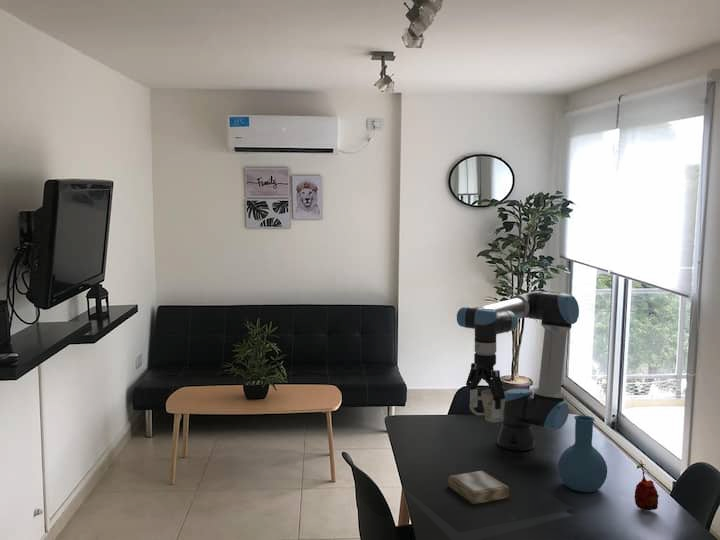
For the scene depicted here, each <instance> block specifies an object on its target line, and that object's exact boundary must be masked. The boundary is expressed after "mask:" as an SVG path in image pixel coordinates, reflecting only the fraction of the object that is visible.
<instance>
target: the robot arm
mask: <svg viewBox="0 0 720 540" xmlns="http://www.w3.org/2000/svg"><path fill="white" fill-rule="evenodd" d="M524 318H526V319H527V318H528V319H534V320H540V321H541V324H540V325H541V326H542V328H543V329H544V333H543V341H542V342H543V343H542V351H541V352H542V353H541V363H540V369H539V381H538V388H537V389H536V390H534V391H533V390H531V389H530V388H529V389H528V388H512V389H507V390H504V388H503V384H502V380H501V373H500V372H501V371H500V370H497V369H496V370H495V368H494V367H495V365H496V364H497V354H496V353H497V335H501V334H504V333H509V332H511V331H513V330H515V329H516V328H517V326H518V319H524ZM579 318H580V306H579V303H578V301H577V298H575V296H574V295H572V294H570V293H564V292H553V291H551V292H550V291H542V290H535V291H529V292H525V293H519V294H516V295H513V296H512V297H511V298H510V299H506V300H502V301H498V302H493V303H490V304H485V305H481V306H475V307H468V306H466V307H461V308H459V310H458V311H457V313H456V322H457V324H458V326H460V327H462V328H466V329H474V354H473V356H474V359H473V361H474V362H472V363H470V370H469V373H468V377H467V380H466V382H465V387H468V389H469V402H470V401H471V400H472V399H473V398H474V397H478V385H479V384H480V383H481V381H482V380H484V381H485V382H486V383H487V384H488V388H489V389H490V390H491V393H492V395H493V397H494V399H493V400H492V418H493V419H494V418H500V408H501V399H505V405H504V417H503V421H501V422H502V424H501V427H500V431H499V434H498V436H497V445H498V446H499V447H500V448H503V449H506V450H510V451H517V452H518V451H519V452H520V451H522V452H523V451H530V450H532V449H534V448H535V447H536V446H535V445H536V444H535V443H536V441H535V437H534V434H533V431H532V430H533V429H532V426H535V427H540V428H544V429H545V430H553V431H559V430H561V429H562V428H563V427H564V425H565V424H566V422H567V420H568V417H569V412H570V407H569V405H568V403H567V402H566V401H565V396H564V394H563V393H562V383H563V382H562V381H563V372H564V364H565V354H566V345H567V334H568V333H567V332H568V331H570V330H571V329H572V326H573V324H576V323H577V322H578V319H579ZM504 391H505V394H504ZM496 395H497V396H496ZM501 395H502V396H501ZM473 408H474V409H475V408H478V400H476V401H475V402H474V403H473Z"/></svg>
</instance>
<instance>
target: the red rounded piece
mask: <svg viewBox="0 0 720 540" xmlns="http://www.w3.org/2000/svg"><path fill="white" fill-rule="evenodd" d="M646 465H647V463H645V464H643V462H642V461H640V463H639V464H638V465H636V469H640V468H641V471H642V479H641V481H638V483H637V484H636V486H635V490H634V503H635V505H636V507H637V508H638V509H640V510H641V511H654V510H655V511H656V510H657V509H658V505H659V497H660V496H659V493H658V490H657V488H656V487H655V484H654V481H653V480H651V479H649V480H647V479H646V476H645V474H646V473H645V471H644V466H646Z"/></svg>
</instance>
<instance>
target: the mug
mask: <svg viewBox="0 0 720 540" xmlns="http://www.w3.org/2000/svg"><path fill="white" fill-rule="evenodd" d="M503 391H504V394H505V391H506V390H503ZM496 396H497V395H496ZM501 396H502V395H501ZM493 399H494V397H493V395H492V393H491V390H490V388H489V389H484V390H482V391H481V392H480V395H479V396H478V397H474V398H473V399H472V400H471V401H470V400H469V404H468V405H469V409H470V411H471V412H472V413H473V414H474V415H476V416H484V417H485V418H484V419H485V421H486V422H488V423H501V422H502V421H503V417H504V405H505V399H501V408H500V418H494V419H493V418H492V400H493ZM476 400H477V401H481V402H482V406H483V412H478V411H476V410H475V407H474V408H473V403H474V402H475V401H476Z"/></svg>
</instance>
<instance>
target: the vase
mask: <svg viewBox="0 0 720 540" xmlns="http://www.w3.org/2000/svg"><path fill="white" fill-rule="evenodd" d="M573 418H574V421H575V424H574V425H575V426H574V428H575V430H574V443H573V444H572V445H571V446H569V447H567V448H566V449H565V450H564V451H563V452H562V453H561V456H560V457H559V460H558V462H557V469H558V474H559V476H560V478H561V480H562V482H563V484H564V485H565V486H567V488H569V489H570V490H572V491H575V492H580V493H593V492H596V491H598V490H600V489H601V488H602V486H603V485H604V483H605V482H606V479H607V476H608V466H607V463H606V460H605V459H604V456H603V455H602V454H601V453H600V452H599V451H598V449H596V448H595V447H593V444H592V443H593V434H594V431H593V430H594V421H595V419H596V418H595V417H593V416H590V415H583V414H581V415H579V414H578V415H575V416H573Z"/></svg>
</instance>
